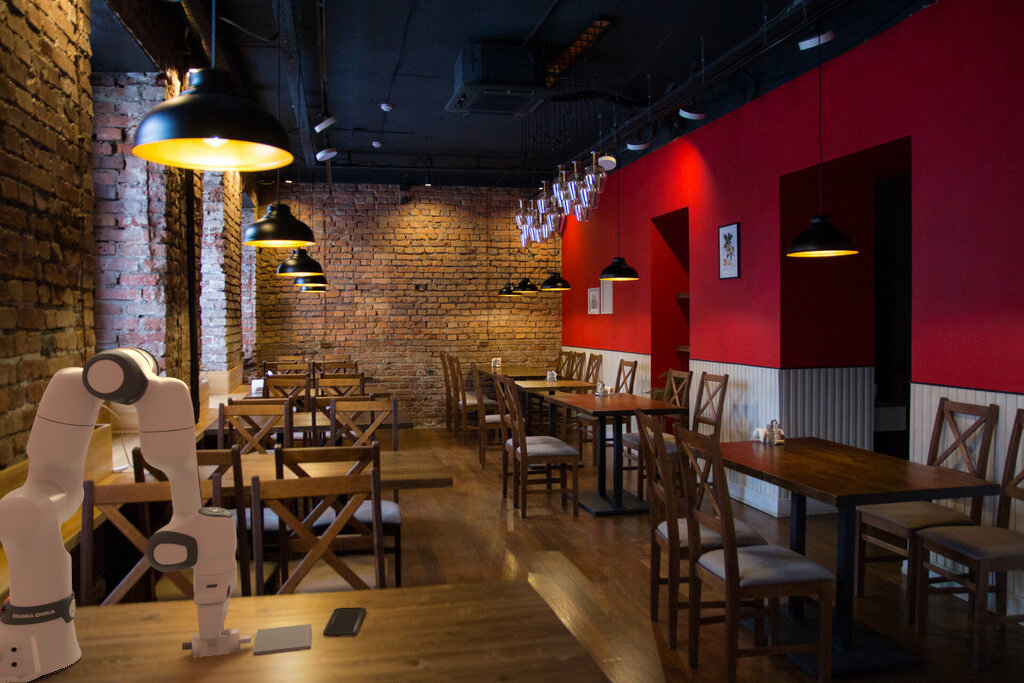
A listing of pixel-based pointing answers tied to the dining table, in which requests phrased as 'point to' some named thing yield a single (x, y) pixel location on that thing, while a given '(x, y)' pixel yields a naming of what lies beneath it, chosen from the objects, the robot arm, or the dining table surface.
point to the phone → (345, 621)
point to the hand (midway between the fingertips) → (216, 644)
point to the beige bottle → (226, 643)
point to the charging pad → (282, 639)
